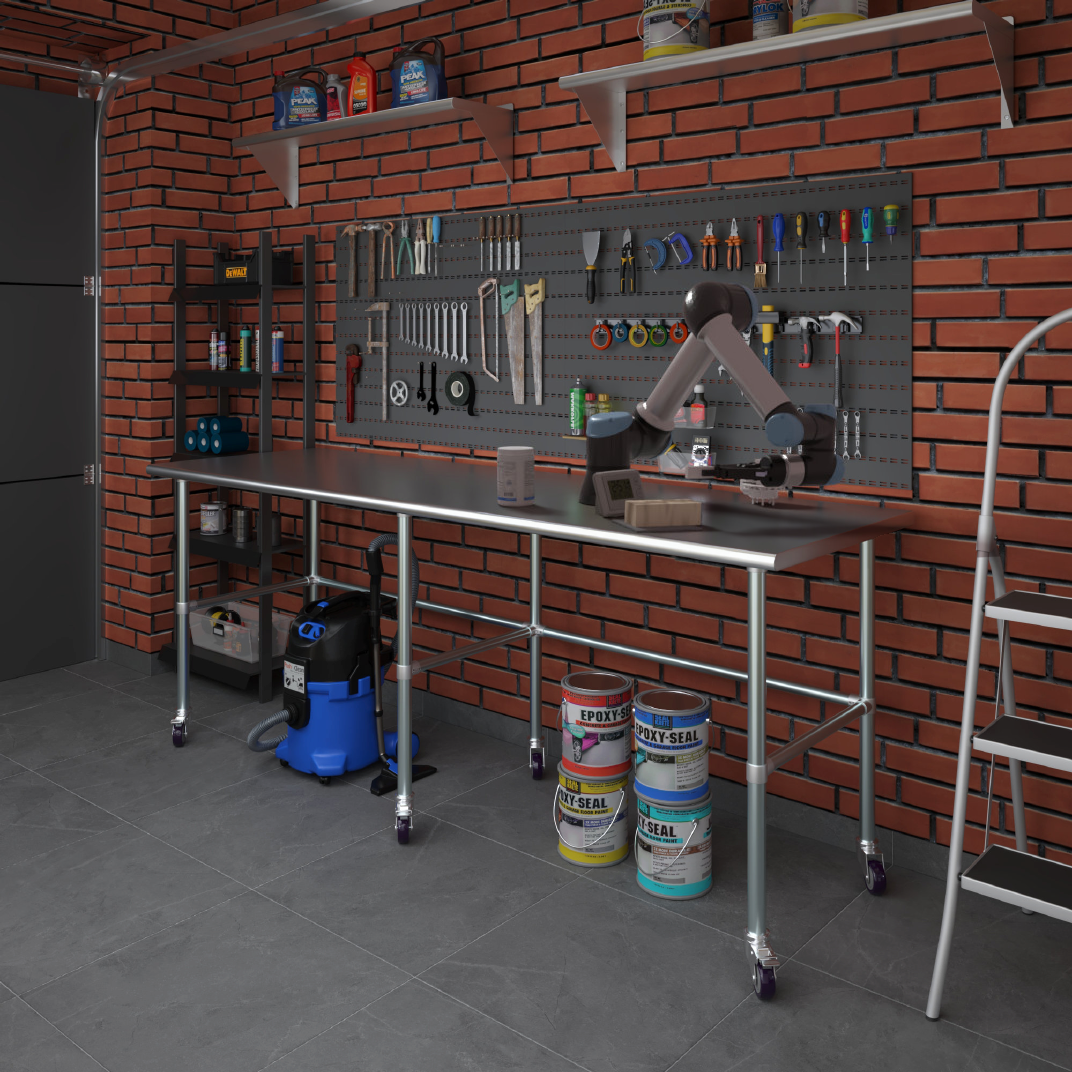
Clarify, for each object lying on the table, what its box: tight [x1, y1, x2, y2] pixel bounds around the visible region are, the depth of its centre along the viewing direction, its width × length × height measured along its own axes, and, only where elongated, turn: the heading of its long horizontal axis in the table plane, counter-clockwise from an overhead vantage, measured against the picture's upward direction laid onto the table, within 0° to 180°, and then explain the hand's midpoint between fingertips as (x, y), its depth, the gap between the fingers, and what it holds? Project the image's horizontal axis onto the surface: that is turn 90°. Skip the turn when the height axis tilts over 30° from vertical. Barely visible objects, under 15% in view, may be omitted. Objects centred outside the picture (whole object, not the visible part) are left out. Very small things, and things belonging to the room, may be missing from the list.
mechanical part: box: [739, 458, 786, 506], centre depth 274 cm, size 11×12×12 cm
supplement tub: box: [496, 445, 535, 508], centre depth 266 cm, size 10×10×15 cm
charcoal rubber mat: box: [611, 518, 703, 533], centre depth 236 cm, size 16×16×1 cm
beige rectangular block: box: [624, 498, 704, 527], centre depth 236 cm, size 7×5×16 cm
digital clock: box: [592, 468, 647, 518], centre depth 252 cm, size 16×9×11 cm, turn 123°
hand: (686, 472), depth 236 cm, fingers closed
